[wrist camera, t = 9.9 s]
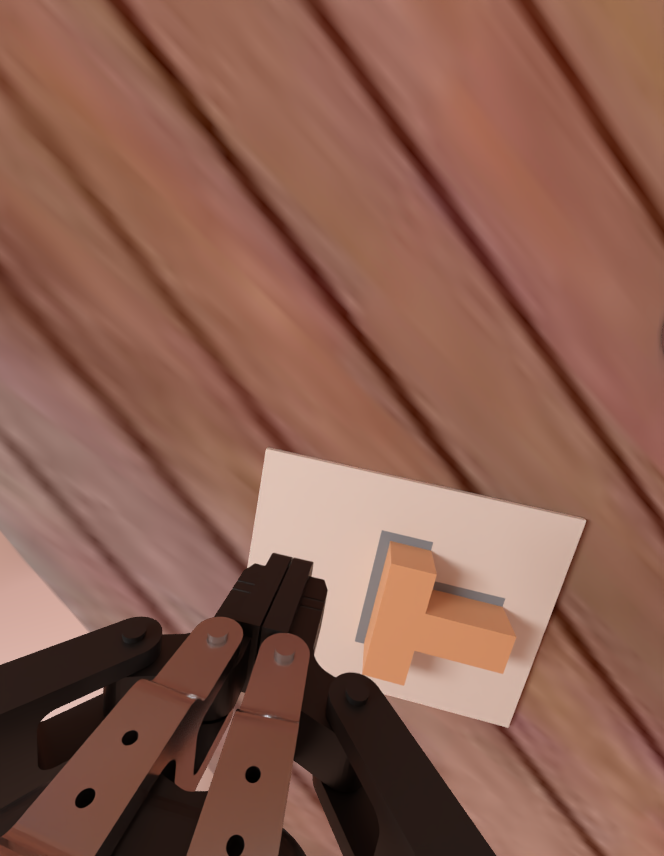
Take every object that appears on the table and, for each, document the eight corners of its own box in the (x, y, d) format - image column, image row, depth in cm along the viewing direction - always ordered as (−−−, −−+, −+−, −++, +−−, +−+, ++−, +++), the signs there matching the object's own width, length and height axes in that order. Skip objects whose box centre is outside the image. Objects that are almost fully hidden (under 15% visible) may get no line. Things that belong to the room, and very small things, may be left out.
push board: (583, 517, 36) (586, 520, 35) (506, 722, 41) (508, 727, 41) (267, 447, 38) (266, 448, 37) (235, 649, 44) (233, 653, 43)
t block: (515, 571, 37) (530, 597, 33) (479, 673, 40) (490, 709, 36) (390, 540, 38) (391, 563, 34) (364, 642, 41) (362, 674, 37)
